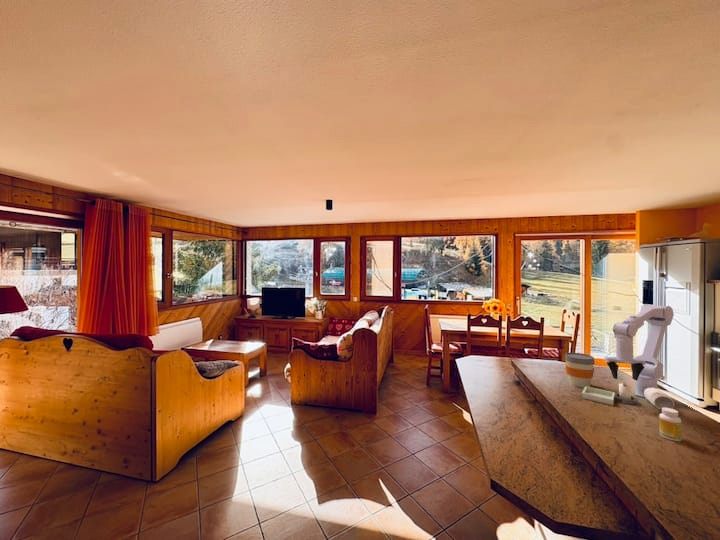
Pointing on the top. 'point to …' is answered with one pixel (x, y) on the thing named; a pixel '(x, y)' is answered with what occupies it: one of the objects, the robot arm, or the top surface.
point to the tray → (598, 395)
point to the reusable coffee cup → (579, 369)
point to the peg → (625, 391)
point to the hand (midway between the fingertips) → (624, 379)
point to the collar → (632, 402)
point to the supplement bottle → (670, 424)
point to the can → (658, 398)
